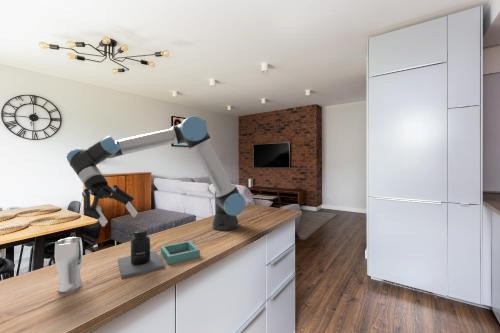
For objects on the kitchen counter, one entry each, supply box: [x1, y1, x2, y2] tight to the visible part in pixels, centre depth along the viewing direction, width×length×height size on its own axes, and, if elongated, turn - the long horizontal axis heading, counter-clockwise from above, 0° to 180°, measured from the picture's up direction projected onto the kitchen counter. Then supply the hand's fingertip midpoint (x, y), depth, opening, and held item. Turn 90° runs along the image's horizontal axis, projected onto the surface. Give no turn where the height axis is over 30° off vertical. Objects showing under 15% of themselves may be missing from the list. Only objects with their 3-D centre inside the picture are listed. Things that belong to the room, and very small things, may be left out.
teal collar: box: [160, 240, 201, 266], centre depth 98 cm, size 12×12×3 cm
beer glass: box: [54, 236, 84, 294], centre depth 74 cm, size 7×7×15 cm
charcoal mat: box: [117, 250, 166, 279], centre depth 90 cm, size 14×16×1 cm
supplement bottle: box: [130, 228, 151, 265], centre depth 90 cm, size 7×7×12 cm
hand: (121, 219), depth 93 cm, fingers open, 13 cm apart
